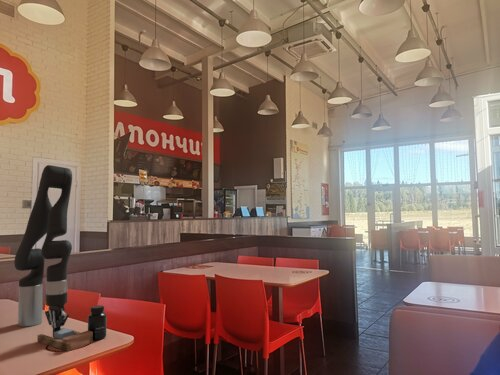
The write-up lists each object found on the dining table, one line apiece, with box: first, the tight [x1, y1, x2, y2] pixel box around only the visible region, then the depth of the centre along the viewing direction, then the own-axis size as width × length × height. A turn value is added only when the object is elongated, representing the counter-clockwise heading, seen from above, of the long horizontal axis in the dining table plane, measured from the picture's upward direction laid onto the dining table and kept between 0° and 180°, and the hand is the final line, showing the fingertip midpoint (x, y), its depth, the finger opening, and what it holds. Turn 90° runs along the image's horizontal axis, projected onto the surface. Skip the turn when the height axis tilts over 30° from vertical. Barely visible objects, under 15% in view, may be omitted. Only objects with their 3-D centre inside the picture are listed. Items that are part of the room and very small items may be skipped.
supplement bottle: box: [87, 304, 108, 342], centre depth 144 cm, size 7×7×12 cm
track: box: [37, 327, 94, 352], centre depth 140 cm, size 20×10×4 cm, turn 58°
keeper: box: [53, 327, 75, 340], centre depth 140 cm, size 5×5×4 cm
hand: (56, 336), depth 143 cm, fingers closed
